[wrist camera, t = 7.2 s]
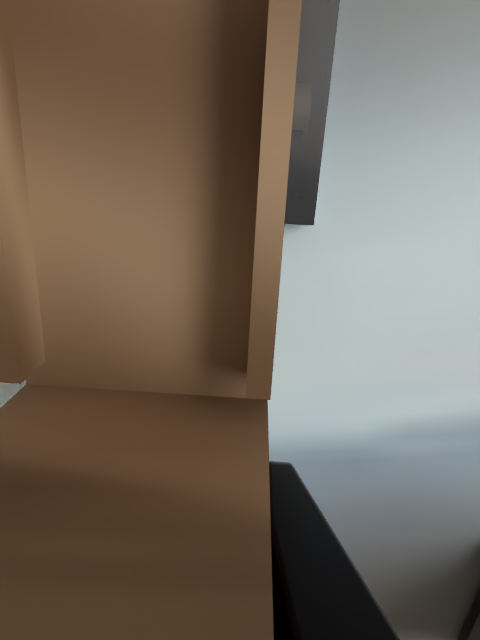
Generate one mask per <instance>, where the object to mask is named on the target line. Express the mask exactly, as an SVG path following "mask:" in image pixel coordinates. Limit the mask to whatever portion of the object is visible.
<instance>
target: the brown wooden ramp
mask: <svg viewBox="0 0 480 640" xmlns="http://www.w3.org/2000/svg"><path fill="white" fill-rule="evenodd" d="M301 8H302V0H0V382H4V383H21V382H23V381H24V380H25V379H26V381H27V384H26V385H25V386H24V387H23V388H22V389H21V390H20V391H19V392H18V393H17V394H16V395H14V396H13V397H12V398H11V399H10V400H9V401H8V402H7V403H6V404H5V405H4V406H3V407H2V408H0V640H274V632H273V595H272V557H271V519H270V481H269V443H268V405H267V400H270V396H271V384H272V371H273V359H274V346H275V334H276V321H277V308H278V296H279V283H280V271H281V258H282V246H283V233H284V221H285V208H286V196H287V183H288V171H289V158H290V145H291V133H292V130H303V131H307V129H308V125H309V119H310V111H311V100H312V84H311V83H296V70H297V58H298V45H299V33H300V20H301Z"/></svg>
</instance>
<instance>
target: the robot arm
mask: <svg viewBox="0 0 480 640" xmlns="http://www.w3.org/2000/svg"><path fill="white" fill-rule="evenodd" d="M269 481H270V519H271V557H272V595H273V632H274V640H400V639H399V637H398V636H397V634H396V632H395V631H394V629H393V628H392V626H391V624H390V623H389V621H388V619H387V618H386V616H385V615H384V613H383V611H382V610H381V608H380V606H379V605H378V603H377V602H376V600H375V598H374V597H373V595H372V593H371V592H370V590H369V589H368V587H367V585H366V584H365V582H364V580H363V579H362V577H361V576H360V574H359V572H358V571H357V569H356V567H355V566H354V564H353V563H352V561H351V559H350V558H349V556H348V554H347V553H346V551H345V550H344V548H343V546H342V545H341V543H340V542H339V540H338V538H337V537H336V535H335V533H334V532H333V530H332V529H331V527H330V525H329V524H328V522H327V520H326V519H325V517H324V516H323V514H322V512H321V511H320V509H319V507H318V506H317V504H316V503H315V501H314V499H313V498H312V496H311V494H310V493H309V491H308V490H307V488H306V486H305V485H304V483H303V481H302V480H301V478H300V477H299V475H298V473H297V472H296V470H295V468H294V467H293V466H292V464H290V463H288V462H274V461H269ZM459 640H480V592H479V594H478V596H477V598H476V601H475V603H474V605H473V608H472V610H471V612H470V614H469V617H468V619H467V621H466V624H465V626H464V628H463V630H462V633H461V635H460V637H459Z"/></svg>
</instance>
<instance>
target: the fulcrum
mask: <svg viewBox="0 0 480 640" xmlns="http://www.w3.org/2000/svg"><path fill="white" fill-rule="evenodd" d="M339 2H340V0H302V8H301V20H300V33H299V45H298V58H297V70H296V83H311V84H312V100H311V111H310V119H309V125H308V129H307V131H303V130H292V133H291V145H290V158H289V171H288V183H287V196H286V208H285V221H284V224H301V225H314V218H315V209H316V200H317V192H318V183H319V174H320V166H321V157H322V149H323V140H324V131H325V123H326V114H327V105H328V97H329V88H330V79H331V71H332V62H333V53H334V45H335V36H336V28H337V19H338V10H339Z"/></svg>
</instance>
